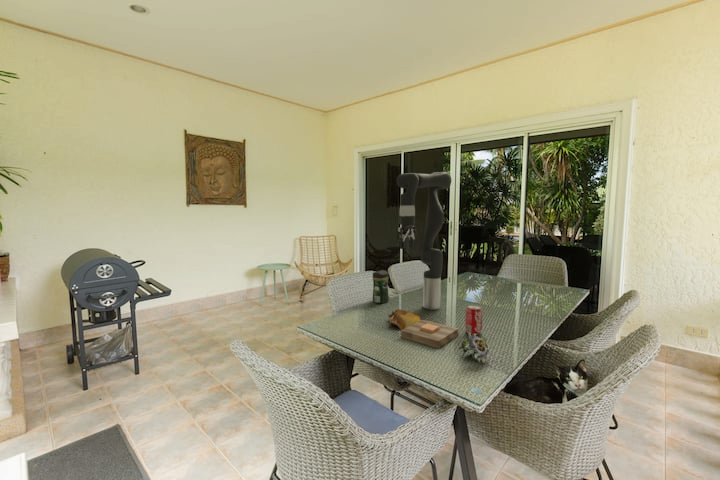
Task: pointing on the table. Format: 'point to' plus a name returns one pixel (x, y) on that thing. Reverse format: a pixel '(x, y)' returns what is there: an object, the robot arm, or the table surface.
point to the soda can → (473, 319)
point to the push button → (429, 328)
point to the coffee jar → (380, 286)
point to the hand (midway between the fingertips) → (406, 248)
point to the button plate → (429, 334)
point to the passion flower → (476, 347)
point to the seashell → (403, 318)
